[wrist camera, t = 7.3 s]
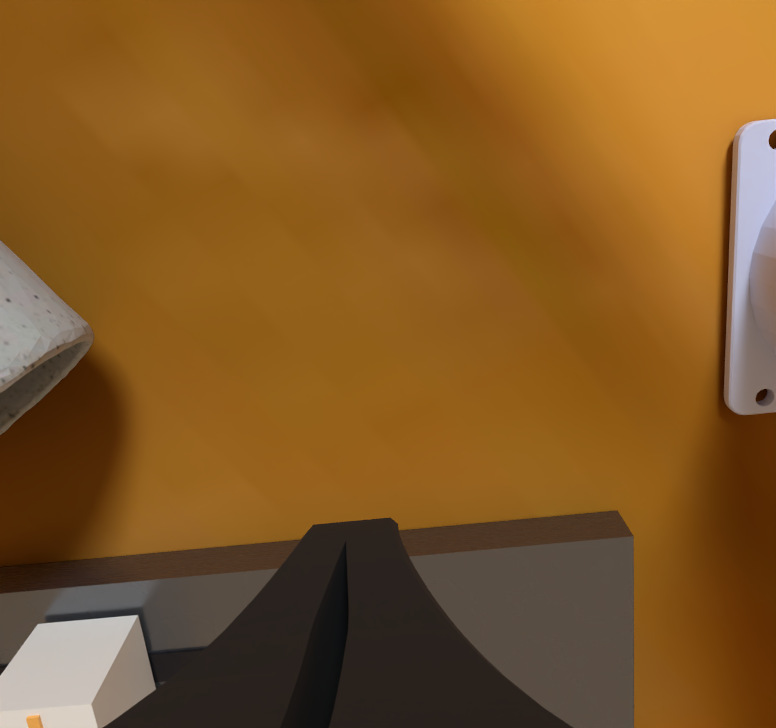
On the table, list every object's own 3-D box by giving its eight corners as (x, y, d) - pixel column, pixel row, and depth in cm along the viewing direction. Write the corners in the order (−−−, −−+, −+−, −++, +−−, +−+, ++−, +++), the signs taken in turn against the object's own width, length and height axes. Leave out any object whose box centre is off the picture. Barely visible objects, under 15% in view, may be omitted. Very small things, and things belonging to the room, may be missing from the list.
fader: (138, 614, 21) (89, 707, 18) (164, 724, 22) (124, 830, 19) (37, 623, 21) (-30, 717, 18) (69, 732, 22) (11, 839, 19)
